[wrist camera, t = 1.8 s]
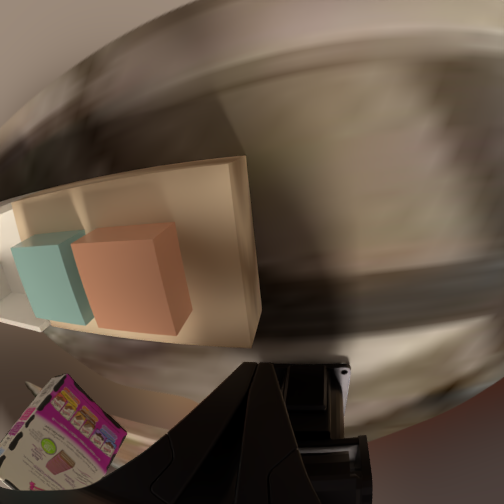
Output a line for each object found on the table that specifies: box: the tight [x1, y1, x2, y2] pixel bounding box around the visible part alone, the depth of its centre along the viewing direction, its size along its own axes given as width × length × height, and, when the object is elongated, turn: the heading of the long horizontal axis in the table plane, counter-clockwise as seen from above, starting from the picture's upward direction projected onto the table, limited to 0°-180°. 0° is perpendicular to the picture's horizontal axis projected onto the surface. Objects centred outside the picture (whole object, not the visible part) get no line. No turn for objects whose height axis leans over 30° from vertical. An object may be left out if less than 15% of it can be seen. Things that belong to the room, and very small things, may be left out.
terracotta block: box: [71, 222, 193, 336], centre depth 15 cm, size 5×5×2 cm
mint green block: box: [10, 229, 94, 326], centre depth 16 cm, size 5×5×2 cm
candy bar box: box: [0, 373, 127, 490], centre depth 24 cm, size 11×5×16 cm, turn 32°
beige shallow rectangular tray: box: [11, 155, 262, 348], centre depth 19 cm, size 10×16×4 cm, turn 96°
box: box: [0, 190, 51, 332], centre depth 21 cm, size 10×11×5 cm
